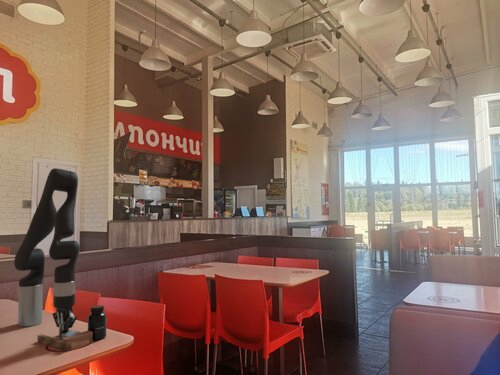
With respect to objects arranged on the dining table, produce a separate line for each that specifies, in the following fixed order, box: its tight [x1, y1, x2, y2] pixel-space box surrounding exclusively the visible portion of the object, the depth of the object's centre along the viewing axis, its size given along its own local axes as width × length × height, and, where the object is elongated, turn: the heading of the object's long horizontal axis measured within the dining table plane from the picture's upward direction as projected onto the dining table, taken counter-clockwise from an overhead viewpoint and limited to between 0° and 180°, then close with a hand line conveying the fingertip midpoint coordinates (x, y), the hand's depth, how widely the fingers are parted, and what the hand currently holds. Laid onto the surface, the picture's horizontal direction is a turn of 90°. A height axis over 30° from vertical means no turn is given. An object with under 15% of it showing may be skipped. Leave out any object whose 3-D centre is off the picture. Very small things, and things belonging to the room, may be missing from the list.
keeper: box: [62, 330, 81, 340], centre depth 137 cm, size 5×5×4 cm
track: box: [37, 328, 94, 352], centre depth 140 cm, size 20×10×4 cm, turn 58°
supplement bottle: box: [87, 304, 108, 342], centre depth 144 cm, size 7×7×12 cm
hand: (64, 339), depth 140 cm, fingers closed
